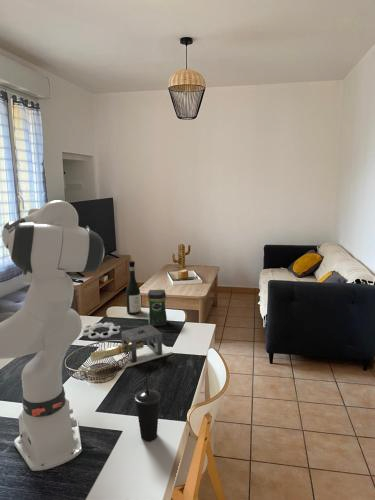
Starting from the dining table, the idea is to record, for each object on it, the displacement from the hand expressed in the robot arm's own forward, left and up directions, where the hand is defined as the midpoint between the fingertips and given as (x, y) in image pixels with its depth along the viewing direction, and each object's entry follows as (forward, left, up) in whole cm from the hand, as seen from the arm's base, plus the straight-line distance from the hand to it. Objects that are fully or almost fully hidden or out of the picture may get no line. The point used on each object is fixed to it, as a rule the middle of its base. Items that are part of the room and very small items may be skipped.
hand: (47, 289), depth 139 cm
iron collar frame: (0, -37, -37) cm, 52 cm away
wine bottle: (+50, -55, -37) cm, 83 cm away
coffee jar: (+28, -59, -37) cm, 75 cm away
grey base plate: (0, -37, -37) cm, 52 cm away
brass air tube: (0, -26, -33) cm, 42 cm away
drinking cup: (-48, -17, -37) cm, 63 cm away
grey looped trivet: (+36, -31, -38) cm, 60 cm away
